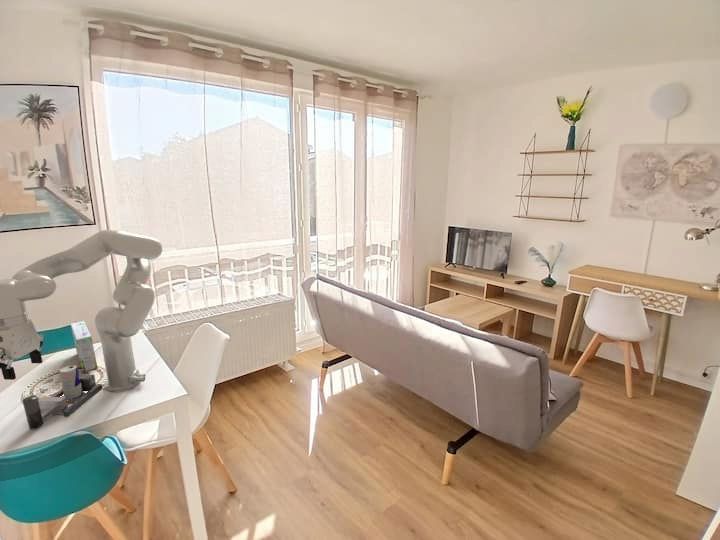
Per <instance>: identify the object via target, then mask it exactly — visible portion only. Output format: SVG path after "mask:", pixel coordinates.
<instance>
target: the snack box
mask: <svg viewBox="0 0 720 540" xmlns="http://www.w3.org/2000/svg"><path fill="white" fill-rule="evenodd" d="M70 328H71V333H72V339H73V341H74V346H75V351H76V353H77V357H78V360H79V363H80V367H81V369H82V372H83V373H85V372H88V371H92V370H95V369H98V368H99V367H98V363H97V358H96V353H95V347H94V344H93V339H92V338H93V337H92V335H91V332H90V331H89V329H88V327H87V325H86V323H85V321H84V320H82V321H78V322H73V323H70Z"/></svg>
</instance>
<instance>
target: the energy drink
mask: <svg viewBox="0 0 720 540" xmlns="http://www.w3.org/2000/svg"><path fill="white" fill-rule="evenodd" d="M58 374H59V378H60V381H61V386H62V388H63V392H64V396H63V397H66V400H68V401H67V402H69V401H70V402H76V401H77V399H79V398H81V397H82V395H84V393H83V391H82V386H81V381H80V376H79V374H80V372H79V368H78V366H77V365H75V364H70V365H66V366H64V367H61V368H60V369H59V373H58Z"/></svg>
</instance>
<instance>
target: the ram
mask: <svg viewBox="0 0 720 540" xmlns="http://www.w3.org/2000/svg"><path fill="white" fill-rule="evenodd" d="M67 402H68V401H67V400H66V397H64V396H63V397H51V396H42V397H40V398H39V397H38V395H29V396H26V397H25V398H23V399H22V403H23V408H24V412H25V416H26V421H27V424H28V429H29V430H34V429H35V430H36V429H39V428H41V427H42V426H43V425H44V421H45V420H46V419H48V418H49V417H51V415H63V411H64V410H66V409H67V408H68V407H69V405H68V403H67Z"/></svg>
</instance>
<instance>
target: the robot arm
mask: <svg viewBox="0 0 720 540" xmlns="http://www.w3.org/2000/svg"><path fill="white" fill-rule="evenodd" d="M162 252H163V245H162V243H161V242H160V240H158V239H157V238H153V237H149V236H145V235H139V234H134V233H130V232H125V231H121V230H115V229H114V230H113V229H102V230H100V231H97V233H94V234H92V235H91V236H89V237H87V238H86V239H84V240H82V241H81V242H79V243H77V244H75V245H73V246H72V247H70V248H68V249H66V250H64V251H60V252H58V253H55V254H52V255H49V256H46V257H44V258H41V259H39V260H37V261H35V262H33V263H32V264H29V265H28V266H25V267H24V268H22V269H20V270H19V271H17V272H16V273H15V274H14V275H13V276H11V278H7V279H6V278H5V279H0V370H1V373H2V377H3V379H4V380H6V381H7V380H8V381H9V380H11V381H13V380H16V378H17V377H16V372H15V368H14V367H13V366H12V364H13V362H14V361H16V360H19V359H22V358H23V357H24V356H27V355H29V358H30V361H31V362H30V363H31V364H42V363H43V362H44V361H43V357H42V353H41V351H42V349H43V348H42V347H43V344H44V342H43V341H44V334H38V331H37V329H36V326H35V324H34V323H33V321H32V319H30V318H29V316H28V312H27V307H26V304H25V303H26V302H27V301H35V300H36V301H37V300H42V299H46V298H49V297H51V296H52V295H53V294H54V293H55V292H56V291H57V284H56V281H55V280H54V279H55V278H57V277H60V276H63V275H66V274H73V273H80V272H83V271H87V270H88V269H90V268H92V267H93V266H95V265H96V264H98V263H99V262H101V261H102V260H104V259H106V258H107V257H109V256H111V255H118V256H121V257H125V258H126V267H125V270H124V272H123V274H122V276H121V278H120V279H119V281H118V283H117V285H116V286H115V289H114V291H113V293H112V298H113V299H112V300H113V301H114V302H116V303H117V304H118V305H121V306H124V308H120V307H117V306H107V307H104V308H102V309H100V310H99V311H98V312H97V314H96V315H95V318H94V324H95V327H96V331H97V333H98V336H99V340H100V344H101V349H102V355H103V361H104V366H105V371H106V372H105V373H106V378H107V380H106V381H105V382H104V384H103V387H104V391H107V392H109V393H119V392H123V391H128V390H130V389H133V388H135V387H136V386H138V385H139V384H140V383H143V382H145V381H146V373H140V371H139V369H136V364H135V356H134V350H133V343H132V342H133V341H132V337H134V336H135V335H136V334H138V332H139V331H140V330H141V329H142V327H143V325H144V323H145V321H146V320H147V317H148V315H149V314H150V312H151V310H152V307H153V305H154V303H155V297H156V295H155V291H154V289H153V288H152V287H151V286H149V285H147V282H148V280H149V279H150V276H151V271H152V267H151V260H152V261H153V260H156V259H158V258H159V257H160V256H161V254H162Z"/></svg>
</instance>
